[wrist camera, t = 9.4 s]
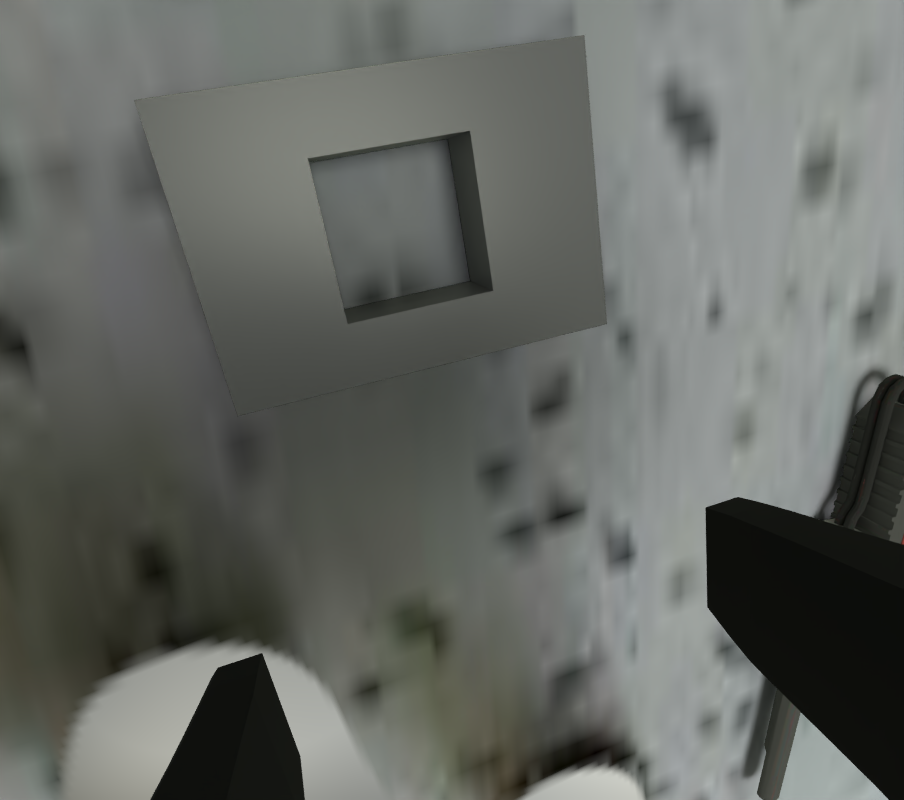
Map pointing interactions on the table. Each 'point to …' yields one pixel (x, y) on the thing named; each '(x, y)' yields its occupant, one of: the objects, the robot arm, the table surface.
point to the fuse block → (303, 234)
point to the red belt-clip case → (861, 509)
